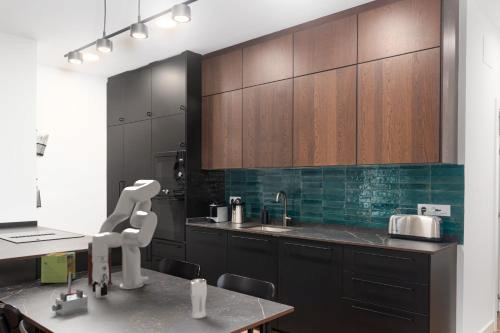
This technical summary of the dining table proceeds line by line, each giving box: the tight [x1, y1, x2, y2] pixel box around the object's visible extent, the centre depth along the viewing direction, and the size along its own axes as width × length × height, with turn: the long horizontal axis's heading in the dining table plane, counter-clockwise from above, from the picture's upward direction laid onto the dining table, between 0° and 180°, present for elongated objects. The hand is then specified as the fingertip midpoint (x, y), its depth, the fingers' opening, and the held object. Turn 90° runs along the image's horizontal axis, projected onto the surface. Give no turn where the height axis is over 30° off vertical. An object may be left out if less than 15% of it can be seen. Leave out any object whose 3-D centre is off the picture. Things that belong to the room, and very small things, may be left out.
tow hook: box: [66, 272, 76, 296], centre depth 197 cm, size 8×13×9 cm
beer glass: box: [189, 278, 208, 320], centre depth 165 cm, size 7×7×15 cm
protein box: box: [40, 251, 76, 284], centre depth 229 cm, size 10×15×16 cm
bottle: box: [95, 283, 106, 299], centre depth 195 cm, size 4×4×7 cm
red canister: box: [87, 241, 112, 285], centre depth 223 cm, size 9×11×28 cm
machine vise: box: [51, 288, 89, 317], centre depth 173 cm, size 13×8×8 cm, turn 135°
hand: (99, 293), depth 194 cm, fingers open, 9 cm apart
